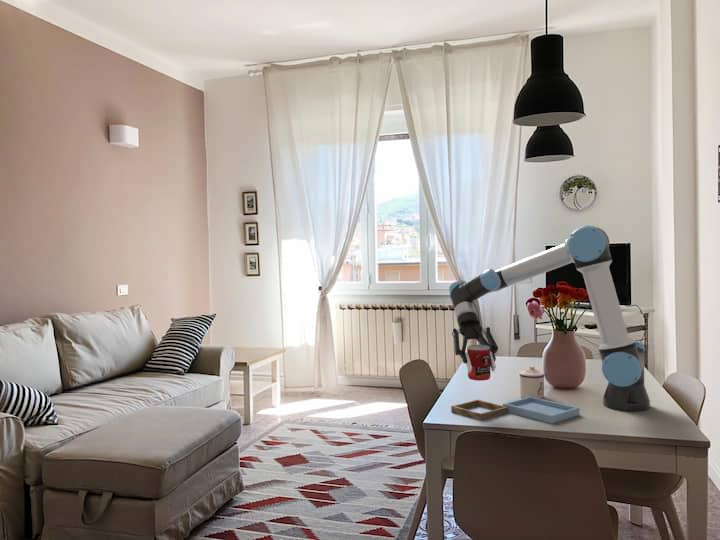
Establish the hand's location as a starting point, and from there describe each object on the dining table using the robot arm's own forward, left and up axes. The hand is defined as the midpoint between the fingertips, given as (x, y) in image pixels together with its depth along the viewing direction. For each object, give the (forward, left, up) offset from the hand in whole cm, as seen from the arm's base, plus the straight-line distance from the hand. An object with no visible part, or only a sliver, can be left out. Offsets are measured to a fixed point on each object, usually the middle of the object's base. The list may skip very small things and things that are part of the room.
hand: (482, 369), depth 200 cm
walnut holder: (+3, -2, -15) cm, 16 cm away
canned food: (+3, -2, -4) cm, 5 cm away
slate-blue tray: (-11, -17, -15) cm, 25 cm away
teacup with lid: (+5, -34, -16) cm, 38 cm away
